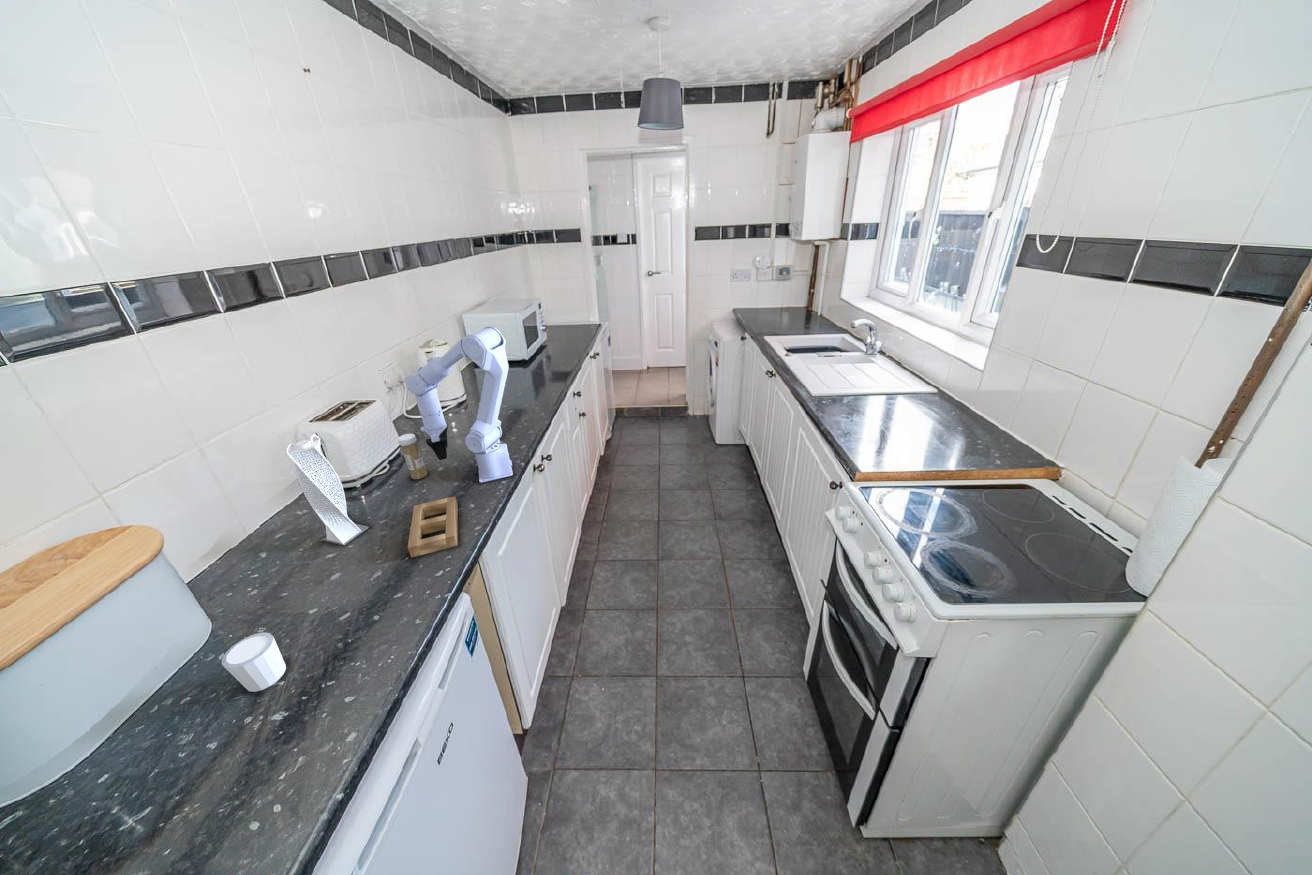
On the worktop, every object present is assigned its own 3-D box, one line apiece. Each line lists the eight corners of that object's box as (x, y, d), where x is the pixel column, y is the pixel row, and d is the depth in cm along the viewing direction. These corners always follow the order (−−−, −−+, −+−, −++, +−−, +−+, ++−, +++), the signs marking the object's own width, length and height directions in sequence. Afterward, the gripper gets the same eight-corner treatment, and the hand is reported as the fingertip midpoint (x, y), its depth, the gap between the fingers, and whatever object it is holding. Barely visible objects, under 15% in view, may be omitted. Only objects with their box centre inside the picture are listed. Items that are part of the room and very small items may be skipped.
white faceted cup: (259, 660, 81) (241, 633, 78) (299, 656, 81) (282, 629, 78) (230, 697, 75) (209, 670, 72) (273, 693, 75) (254, 665, 72)
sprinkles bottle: (428, 476, 136) (415, 436, 130) (412, 481, 134) (398, 441, 128) (426, 470, 140) (413, 431, 134) (410, 475, 138) (396, 435, 132)
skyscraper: (373, 528, 115) (331, 429, 102) (344, 549, 108) (295, 446, 95) (348, 523, 117) (305, 425, 104) (319, 543, 110) (268, 441, 98)
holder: (457, 505, 122) (454, 496, 121) (457, 545, 107) (454, 535, 106) (417, 514, 119) (414, 505, 118) (411, 557, 104) (407, 547, 103)
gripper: (418, 405, 136) (430, 445, 142) (414, 424, 124) (427, 467, 130) (443, 401, 138) (454, 441, 144) (441, 419, 126) (453, 461, 132)
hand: (443, 453), depth 137 cm, fingers open, 7 cm apart
